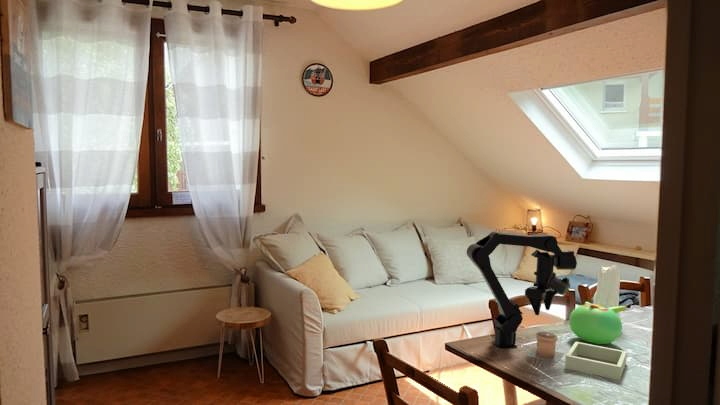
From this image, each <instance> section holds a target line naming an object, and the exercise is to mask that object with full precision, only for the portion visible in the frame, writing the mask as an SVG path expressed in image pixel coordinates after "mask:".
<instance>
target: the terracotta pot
mask: <svg viewBox="0 0 720 405" xmlns="http://www.w3.org/2000/svg"><path fill="white" fill-rule="evenodd" d="M535 338H536V348H537V349H536V354H537V355H538V356H541V357H545V358H553V357H555V352H556V344H557V341H558V335H557V334H556V333H553V332H549V331H537V332H536V334H535Z"/></svg>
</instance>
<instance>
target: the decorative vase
mask: <svg viewBox="0 0 720 405" xmlns="http://www.w3.org/2000/svg"><path fill="white" fill-rule="evenodd" d="M620 275H621V274H620V270H619V266H618V264H617V265H616V264H612V265H611V266H606V267H605V266H604V265H603V264H601V265H600V266H599V268H598V271H597V284H596V290H595V293H594V294H593V301H592V302H593V303H592V304H596V305H601V306H605V307H607V308H608V307H618V306H619V304H620V288H621V287H620V286H621V285H620V284H621V276H620ZM616 314H617V315H618V316H619V318H620V319H621V314H620V312H618V313H616Z"/></svg>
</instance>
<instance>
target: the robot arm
mask: <svg viewBox="0 0 720 405" xmlns="http://www.w3.org/2000/svg"><path fill="white" fill-rule="evenodd" d="M499 245H504V246H505V245H506V246H507V245H508V246H519V247H529V248H530V247H531V248H533V249H535V251H533V252H532V253H531V254H530V255H531V256H532V257H533V258H536V271H534V273H533V274H534V276H535V282H533V285H532V286H530V287H527V288H526V289H524V296H526V298H527V299H528V301H529V303H530V305H531V307H532V310H533V312H534V315H535V316H539V315H540V311H541V307H542V302H543V303H544V308H545V311H549V310H550V308H551V306H552V303H553V300H554V298H555V296H556V295H558V294H560V295H564V294H566V293H568V290H569V288H571V283H570V278H568V277H564V278H562V279H561V278H558V277H557V273H556V272H554V269H556V270H565V271H566V270H567V271H568V270H569V271H570V270H571V271H574V270H576V268H577V264H578V262H577V258H576V255H575V251H574V250H571V249H569V250H562V249H561V248H560V246H559V245H558V239H557V238H556V237H555V236H553V235H551V234H549V233H548V234H547V233H545V232H543V233H541V232H540V233H534V234H533V233H532V234H517V233H507V232H498V231H491V232H490V233H489V234H487V235H486V236H485V237H483V238H481V239H479V240H478V241H477V242H476V243H472V244H470V245H469V246H468V247H467V250H466V256H467V257H468V258H469V260H470V261H471V263H473V265H474V266H475V267H476V268H477V269H478V271H480V273H481V275H482V277H483V279H484V281H485V282H486V285H487V286H488V289H490V291H491V294H492V295H493V297H494V300H495V301H496V303H497V309H498V311H499V312H498V313H499V314H498V315H497V316H496V317H495V318H494V319H493V321H494V325H495V326H497V327H495V328H494V331H495V332H494V341H492V342H491V343H492V344H493V345H495V346H496V347H498V348H499V349H502V350H504V349H514V348H515V349H516V348H518V344H517V342H516V341H517V333H516V332H517V330H518V328H519V326H520V325H521V323H522V321H523V318H524V317H523V315H524V313H523V312H522V310H520V307H519V306H520V305H519V304H518V303H517V302H516V301H514V300H513V299H509V297H508V296H507V293H506V292H505V290H504V288H503V286H502V284H501V282H500V280H499V278H498V277H497V275H496V274H495V272H494V270H493V268H492V265H491V264H492V263H491V258H490V255H491V254H492V253H494V251H495V249H497V248H498V247H499ZM550 253H551V254H550ZM554 267H555V268H554ZM516 344H517V345H516Z"/></svg>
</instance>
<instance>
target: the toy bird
mask: <svg viewBox="0 0 720 405" xmlns="http://www.w3.org/2000/svg"><path fill="white" fill-rule="evenodd" d="M627 308H628V307H627V306H624V305H620V306H618V307H608V308H607V307H605V306H601V305H596V304H593V303H591V302H589V301H585V302H584V304H581V305H578V306H577V307H576V308H574V309H573V310H572V311H571V313H570V315H569V318H568V320H569V321H568V323H569V327H570V330H571V331H572V332H573V334H574V335H575V336H577V338H579V339H580V340H582V341H584V342H587V343H589V344H593V345H607V344H611V343H613V342H615V341H616V340H617V339H619V337H620V336H621V334H622V331H623V324H622V320H621V317H620V318H619V316H618V315H617V314H616V313H618V312H619V313H620V312H622V311H625V310H626V309H627Z"/></svg>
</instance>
